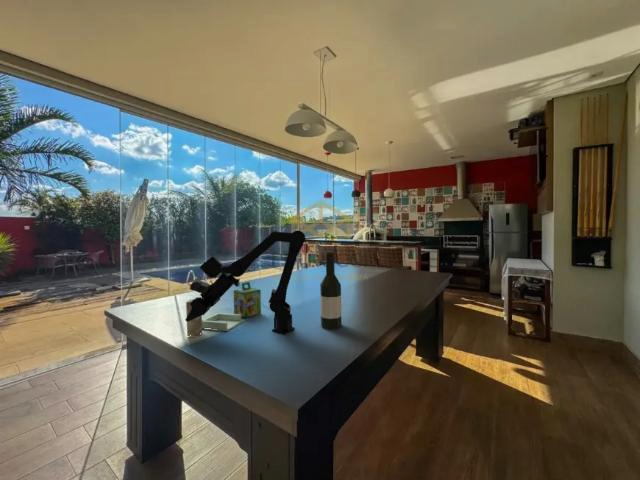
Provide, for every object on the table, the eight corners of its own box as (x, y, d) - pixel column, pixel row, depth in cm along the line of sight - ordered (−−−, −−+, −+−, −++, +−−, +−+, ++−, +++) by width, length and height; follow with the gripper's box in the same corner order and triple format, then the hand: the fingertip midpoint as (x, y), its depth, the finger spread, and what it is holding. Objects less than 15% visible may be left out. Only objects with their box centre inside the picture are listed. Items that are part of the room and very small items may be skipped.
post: (202, 332, 106) (201, 299, 105) (198, 336, 102) (197, 301, 101) (191, 333, 105) (190, 299, 105) (187, 337, 101) (186, 302, 101)
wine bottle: (340, 330, 106) (339, 252, 105) (318, 328, 108) (317, 252, 107) (342, 322, 114) (341, 250, 113) (323, 321, 116) (321, 250, 115)
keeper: (243, 321, 118) (243, 314, 118) (227, 331, 107) (227, 323, 107) (215, 319, 122) (215, 312, 122) (196, 328, 110) (196, 321, 110)
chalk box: (245, 318, 122) (244, 285, 122) (233, 315, 128) (232, 283, 127) (261, 313, 130) (261, 282, 129) (249, 310, 135) (248, 280, 135)
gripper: (211, 269, 112) (183, 297, 112) (195, 276, 94) (162, 309, 93) (231, 287, 113) (204, 315, 113) (219, 298, 95) (187, 331, 94)
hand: (190, 317), depth 103 cm, fingers open, 8 cm apart
